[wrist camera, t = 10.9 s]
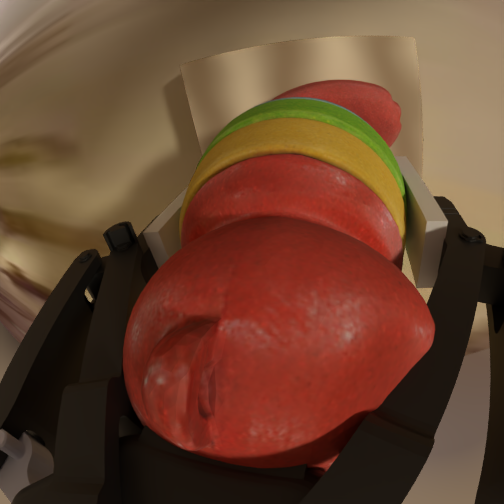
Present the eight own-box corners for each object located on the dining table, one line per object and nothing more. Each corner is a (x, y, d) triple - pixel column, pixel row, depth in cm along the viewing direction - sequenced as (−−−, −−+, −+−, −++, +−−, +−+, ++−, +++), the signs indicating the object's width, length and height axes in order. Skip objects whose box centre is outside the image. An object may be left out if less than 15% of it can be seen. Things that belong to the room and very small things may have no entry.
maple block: (400, 41, 16) (414, 37, 13) (406, 222, 25) (415, 247, 22) (201, 63, 21) (179, 65, 18) (240, 227, 30) (227, 251, 26)
